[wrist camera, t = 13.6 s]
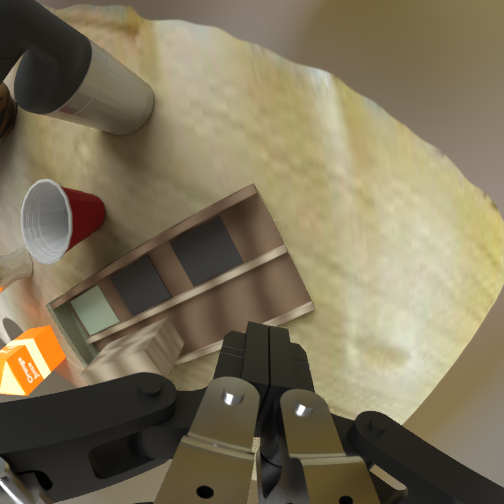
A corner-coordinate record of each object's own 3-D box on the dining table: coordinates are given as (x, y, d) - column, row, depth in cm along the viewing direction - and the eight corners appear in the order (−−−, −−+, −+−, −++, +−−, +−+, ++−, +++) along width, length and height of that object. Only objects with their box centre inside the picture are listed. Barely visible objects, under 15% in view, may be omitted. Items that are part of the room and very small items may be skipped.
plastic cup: (84, 165, 37) (33, 163, 26) (130, 202, 38) (84, 209, 27) (58, 221, 40) (9, 233, 28) (99, 259, 41) (54, 282, 29)
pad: (91, 334, 43) (90, 335, 43) (70, 301, 42) (70, 301, 42) (120, 320, 42) (119, 321, 42) (98, 284, 41) (97, 284, 40)
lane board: (118, 380, 46) (107, 396, 41) (62, 295, 43) (45, 305, 38) (313, 305, 41) (319, 320, 36) (253, 183, 37) (252, 182, 32)
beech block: (124, 365, 44) (100, 399, 34) (108, 343, 43) (80, 374, 34) (184, 342, 42) (166, 380, 32) (167, 316, 41) (144, 350, 32)
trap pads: (132, 314, 42) (132, 315, 41) (110, 277, 40) (109, 277, 40) (243, 261, 39) (243, 262, 39) (219, 216, 38) (219, 216, 37)
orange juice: (66, 358, 46) (12, 413, 27) (43, 359, 47) (-8, 406, 27) (49, 324, 44) (-13, 373, 25) (28, 328, 45) (-29, 371, 26)
